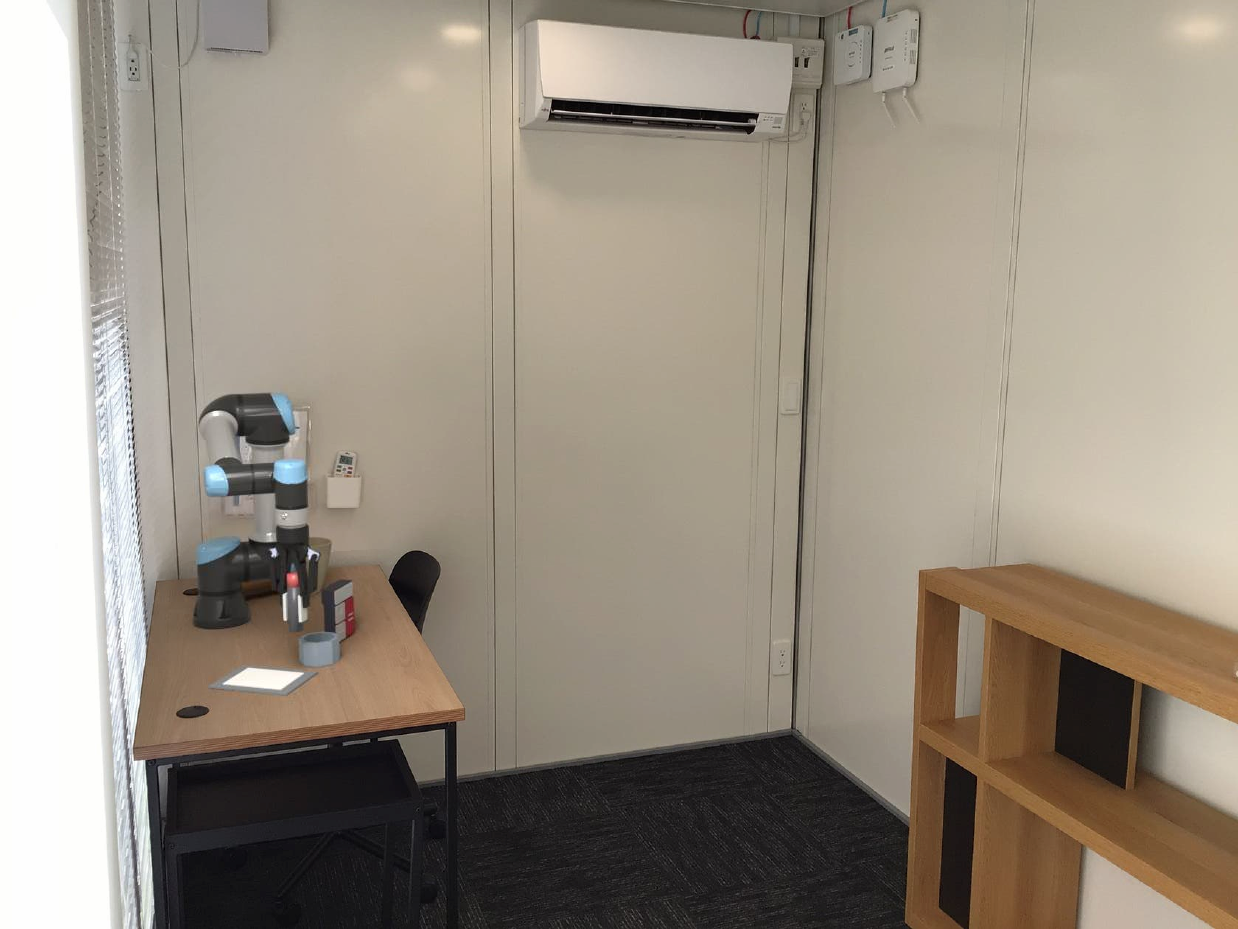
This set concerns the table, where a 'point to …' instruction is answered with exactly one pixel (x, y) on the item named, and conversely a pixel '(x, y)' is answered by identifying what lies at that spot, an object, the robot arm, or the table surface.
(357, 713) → the table surface
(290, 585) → the marker
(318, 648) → the pen cup
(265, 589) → the pan flute
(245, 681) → the writing pad
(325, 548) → the plant pot
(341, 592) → the grey and red block
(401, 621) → the table surface
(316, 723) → the table surface
